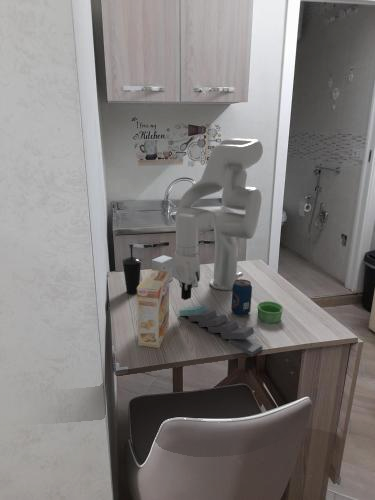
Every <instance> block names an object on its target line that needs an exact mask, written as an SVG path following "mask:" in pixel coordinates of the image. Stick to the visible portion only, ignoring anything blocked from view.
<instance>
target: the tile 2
mask: <svg viewBox="0 0 375 500" xmlns="http://www.w3.org/2000/svg"><path fill="white" fill-rule="evenodd" d="M216 316H218V314H217V311H216V309H213V310H207V311H205V312H203V313H201V314H198V315H192V316H187V317H188V321H189V322H190V323H191V322H198V321H207V320H209V319H211V318H213V317H216Z"/></svg>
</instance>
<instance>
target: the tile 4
mask: <svg viewBox="0 0 375 500" xmlns="http://www.w3.org/2000/svg"><path fill="white" fill-rule="evenodd" d="M239 327H240V326H239V323H238V321H237V320H235V321H229V320H228V321H227V322H225V323H223V324H221V325H219V326H209V327H207V331H208V333H211V334H213V333H216V334H219V333H220V334H221V333H229V332H231V331H233V330H235V329H237V328H239Z"/></svg>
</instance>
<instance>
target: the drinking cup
mask: <svg viewBox="0 0 375 500" xmlns="http://www.w3.org/2000/svg"><path fill="white" fill-rule="evenodd" d="M142 261H143V260H142V259H141V258H140V257H137V256H134V255H133V244H130V256H127V257H125V258H122V261H121V263H122V267H123V273H124V280H125V286H126V287H125V288H126V289H125V290H126V293H127V294H128V295H137V287H138V285H139V284H140V283H141V282H140V281H141V279H140V278H141V268H142V267H141V266H142V265H141V264H142Z"/></svg>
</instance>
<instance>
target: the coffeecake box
mask: <svg viewBox="0 0 375 500" xmlns="http://www.w3.org/2000/svg"><path fill="white" fill-rule="evenodd" d="M140 281H141V282H139V285H138V287H137V294H136V305H137V310H136V311H137V343H138V344H137V346H139V347H149V348H156V349H157V348H158V349H160V347H161V344H162V343H163V340H164V337H165V335H166V332H167V331H168V328H169V324H170V281H169V272H167V271H155V270H152V269H149V270H148V271H147V273H146V274H145V276H144V277H143V278H142V280H140Z"/></svg>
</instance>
